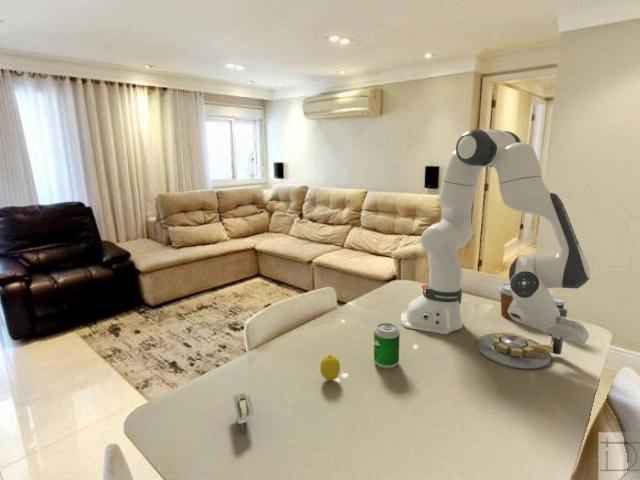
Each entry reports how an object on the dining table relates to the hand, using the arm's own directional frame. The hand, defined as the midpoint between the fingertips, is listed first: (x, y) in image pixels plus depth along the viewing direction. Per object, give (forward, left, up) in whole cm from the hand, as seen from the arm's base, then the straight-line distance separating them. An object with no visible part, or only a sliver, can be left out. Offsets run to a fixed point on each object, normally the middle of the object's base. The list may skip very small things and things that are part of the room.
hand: (553, 334), depth 113 cm
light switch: (-81, -46, -8) cm, 93 cm away
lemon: (-64, -25, -8) cm, 69 cm away
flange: (-10, +2, -8) cm, 13 cm away
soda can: (-49, -13, -8) cm, 52 cm away
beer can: (+7, +19, -8) cm, 22 cm away
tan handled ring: (-7, +2, -6) cm, 9 cm away
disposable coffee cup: (-4, +30, -8) cm, 31 cm away
